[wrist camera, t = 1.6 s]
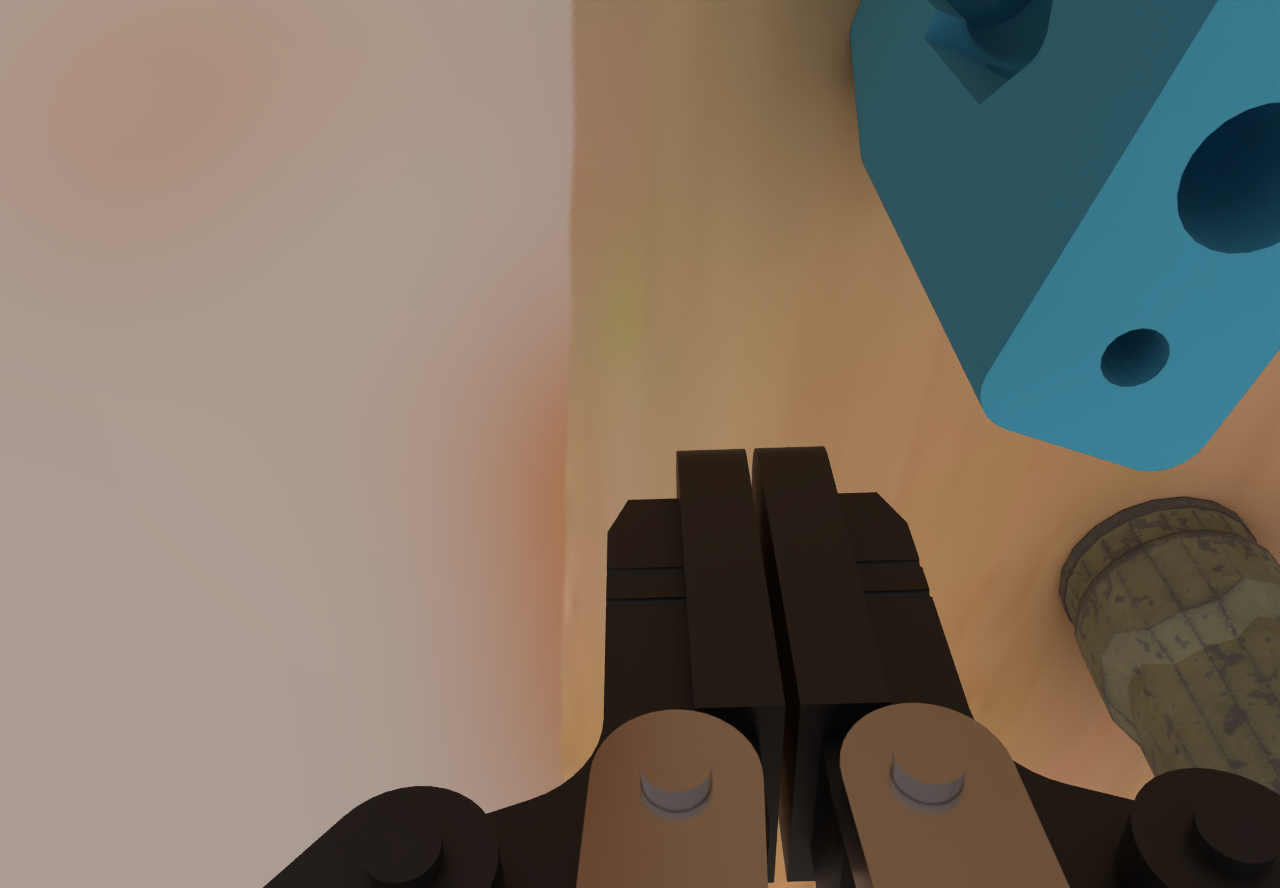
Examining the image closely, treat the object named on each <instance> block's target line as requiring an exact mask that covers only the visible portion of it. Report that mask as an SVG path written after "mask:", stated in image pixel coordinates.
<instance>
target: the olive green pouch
mask: <svg viewBox="0 0 1280 888" xmlns="http://www.w3.org/2000/svg"><path fill="white" fill-rule="evenodd" d="M1059 593H1060V596H1061V599H1062V602H1063V605H1064V608H1065V611H1066V613H1067V616H1068V618H1069V620H1070V621H1071V622H1072V623H1073V624H1074V626H1075V632H1074V633H1075V636H1076V639H1077V642H1078V645H1079V648H1080V651H1081V654H1082V656H1083V658H1084V660H1085V662H1086V665H1087V667H1088V669H1089V671H1090V673H1091V675H1092V677H1093V680H1094V682H1095V684H1096V686H1097V688H1098V690H1099V692H1100V695H1101V697H1102V699H1103V701H1104V703H1105V705H1106V707H1107V709H1108V712H1109V714H1110V716H1111V718H1112V720H1113V721H1114V722H1115V723H1116V724H1117V725H1118V726H1119V727H1120V728H1121V729H1122V730H1123V731H1124V732H1125V733H1126V734H1127V735H1128V736H1129V737H1130V738H1131V739H1132V740H1133V741H1135V742H1136V743H1137V744H1138V745H1139V746H1140V747H1141V749H1142V751H1143V753H1144V756H1145V758H1146V760H1147V762H1148V764H1149V766H1150V768H1151V770H1152V772H1153V774H1154V776H1155V777H1156V776H1159V775H1161V774H1163V773H1165V772H1168V771H1173V770H1177V769H1183V768H1207V769H1215V770H1220V771H1225V772H1230V773H1233V774H1236V775H1239V776H1242V777H1245V778H1248V779H1250V780H1252V781H1255V782H1257V783H1259V784H1261V785H1263V786H1265V787H1267V788H1269V789H1270V790H1272V791H1274V792H1276V793H1277V794H1279V795H1280V565H1279V564H1278V562H1277V561H1276V560H1275V558H1274V557H1273V556H1272V555H1271V553H1270V552H1269V551H1268V550H1267V549H1266V548H1264V547H1262V546H1260V545H1258V544H1257V542H1256V539H1255V537H1254V536H1253V534H1252V533H1251V532H1250V530H1249V529H1248V528H1247V527H1246V525H1245V524H1244V523H1243V522H1242V520H1241V519H1240V518H1239V517H1238V515H1237V514H1236V513H1235V512H1233V511H1231V510H1229V509H1227V508H1225V507H1223V506H1221V505H1219V504H1217V503H1215V502H1214V501H1208V500H1201V499H1195V498H1189V497H1178V498H1169V499H1159V500H1152V501H1149V502H1146V503H1143V504H1140V505H1137V506H1134V507H1131V508H1128V509H1125V510H1122V511H1120V512H1119V513H1117V514H1115V515H1114V516H1112V517H1110V518H1109V519H1107V520H1105V521H1104V522H1102V523H1101V524H1099V525H1097V526H1096V527H1094V528H1093V529H1092V530H1091V531H1090V532H1089V533H1088V534H1087V535H1086V536H1085V537H1084V538H1083V539H1082V540H1081V541H1080V542H1079V543H1078V544H1077V545H1076V546H1075V547H1074V549H1073V550H1072V552H1071V554H1070V556H1069V558H1068V560H1067V562H1066V563H1065V565H1064V567H1063V569H1062V573H1061V581H1060V589H1059Z"/></svg>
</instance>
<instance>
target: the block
mask: <svg viewBox="0 0 1280 888" xmlns="http://www.w3.org/2000/svg"><path fill="white" fill-rule="evenodd" d="M850 44H851V54H852V65H853V76H854V87H855V97H856V108H857V119H858V130H859V140H860V151H861V158H862V162H863V164H864V166H865V168H866V171H867V173H868V175H869V177H870V179H871V181H872V183H873V185H874V187H875V189H876V191H877V193H878V195H879V197H880V199H881V201H882V203H883V205H884V207H885V210H886V212H887V214H888V216H889V218H890V220H891V222H892V224H893V226H894V228H895V230H896V232H897V234H898V236H899V238H900V240H901V242H902V244H903V246H904V248H905V251H906V253H907V255H908V257H909V259H910V261H911V263H912V265H913V267H914V269H915V271H916V273H917V275H918V277H919V279H920V281H921V283H922V285H923V287H924V290H925V292H926V294H927V296H928V298H929V300H930V302H931V304H932V306H933V308H934V310H935V312H936V314H937V316H938V318H939V320H940V322H941V324H942V326H943V328H944V331H945V333H946V335H947V337H948V339H949V341H950V343H951V345H952V347H953V349H954V351H955V353H956V355H957V357H958V359H959V361H960V363H961V365H962V367H963V370H964V372H965V374H966V376H967V378H968V380H969V382H970V384H971V386H972V388H973V390H974V392H975V394H976V396H977V398H978V400H979V402H980V404H981V406H982V408H983V410H984V412H985V414H986V415H987V417H988V418H989V419H990V420H991V421H992V422H993V423H995V424H996V425H998V426H1000V427H1002V428H1004V429H1007V430H1010V431H1013V432H1017V433H1020V434H1023V435H1026V436H1029V437H1033V438H1036V439H1039V440H1042V441H1045V442H1049V443H1052V444H1055V445H1058V446H1062V447H1065V448H1068V449H1071V450H1074V451H1078V452H1081V453H1084V454H1087V455H1090V456H1094V457H1097V458H1100V459H1103V460H1107V461H1110V462H1113V463H1116V464H1119V465H1123V466H1126V467H1129V468H1132V469H1136V470H1142V471H1160V470H1164V469H1169V468H1173V467H1175V466H1177V465H1179V464H1181V463H1184V462H1186V461H1187V460H1188V459H1190V458H1191V457H1193V456H1194V455H1196V454H1197V453H1198V452H1199V451H1200V450H1201V449H1202V448H1203V447H1204V446H1205V444H1206V443H1207V442H1208V441H1209V439H1210V438H1211V437H1212V436H1213V434H1214V433H1215V432H1216V430H1217V429H1218V428H1219V427H1220V425H1221V424H1222V423H1223V421H1224V420H1225V419H1226V418H1227V416H1228V415H1229V414H1230V412H1231V411H1232V410H1233V409H1234V407H1235V406H1236V405H1237V403H1238V402H1239V401H1240V400H1241V398H1242V397H1243V396H1244V394H1245V393H1246V392H1247V391H1248V389H1249V388H1250V387H1251V385H1252V384H1253V383H1254V382H1255V380H1256V379H1257V378H1258V376H1259V375H1260V374H1261V373H1262V371H1263V370H1264V369H1265V367H1266V366H1267V365H1268V364H1269V362H1270V361H1271V360H1272V358H1273V357H1274V356H1275V355H1276V353H1277V352H1278V351H1279V349H1280V0H862V1H861V4H860V6H859V8H858V10H857V13H856V15H855V17H854V19H853V22H852V25H851V29H850Z"/></svg>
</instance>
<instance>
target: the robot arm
mask: <svg viewBox="0 0 1280 888" xmlns="http://www.w3.org/2000/svg"><path fill="white" fill-rule="evenodd" d="M676 481H677V499H644V500H628V501H627V503H626V504H625V506H624V508H623V509H622V511H621V512H620V514H619V515H618V517H617V519H616V520H615V522H614V523H613V525H612V526H611V528H610V529H609V531H608V540H607V588H606V635H605V683H604V721H603V729H602V733H601V736H600V739H599V743H598V745H597V746H596V748H595V750H594V752H593V754H592V756H591V757H590V758H589V760H588V761H587V762H586V763H585V765H584V766H583V767H582V768H581V769H580V770H579V771H578V772H577V773H576V774H575V775H574V776H573V777H571V778H570V779H569V780H567V781H566V782H565V783H563V784H562V785H561V786H559V787H557V788H555V789H553V790H552V791H550V792H548V793H546V794H544V795H541V796H538V797H536V798H533V799H531V800H528V801H525V802H522V803H518V804H515V805H512V806H509V807H506V808H503V809H500V810H497V811H494V812H491V813H487V814H485V813H484V811H483V810H482V809H481V808H480V807H479V806H478V805H477V804H475V803H474V802H473V801H472V800H470V799H469V798H467V797H465V796H463V795H461V794H459V793H457V792H454V791H451V790H448V789H445V788H438V787H432V786H414V787H406V788H400V789H396V790H392V791H388V792H385V793H383V794H380V795H378V796H376V797H373V798H371V799H369V800H367V801H366V802H364V803H362V804H360V805H359V806H357V807H356V808H354V809H353V810H352V811H350V812H349V813H348V814H346V815H345V816H344V817H343V818H342V819H340V820H339V821H338V822H337V823H336V824H335V825H334V826H333V827H331V828H330V829H329V830H328V831H327V832H326V833H325V834H323V835H322V836H321V837H320V838H319V839H318V840H317V841H315V842H314V843H313V844H312V845H311V846H310V847H309V848H307V849H306V850H305V851H304V852H303V853H302V854H301V855H299V856H298V857H297V858H296V859H295V860H294V861H293V862H292V863H291V864H289V865H288V866H287V867H286V868H285V869H284V870H282V871H281V872H280V873H279V874H278V875H277V876H276V877H274V878H273V879H272V880H271V881H270V882H269V883H268V884H267V885H265V886H264V887H263V888H768V883H773V882H774V873H775V858H776V843H777V828H778V817H779V825H780V832H781V840H782V847H783V855H784V862H785V869H786V877H787V882H792V881H815V882H816V888H1280V795H1279V794H1277V793H1276V792H1274V791H1272V790H1270V789H1269V788H1267V787H1265V786H1263V785H1261V784H1259V783H1257V782H1255V781H1252V780H1250V779H1248V778H1245V777H1242V776H1239V775H1236V774H1233V773H1230V772H1225V771H1220V770H1215V769H1207V768H1183V769H1177V770H1173V771H1168V772H1165V773H1163V774H1161V775H1159V776H1156V777H1154V778H1153V779H1152V780H1150V781H1149V782H1148V783H1146V784H1145V785H1144V786H1143V788H1142V789H1141V790H1140V791H1139V792H1138V794H1137V796H1136V798H1135V801H1134V800H1130V799H1126V798H1122V797H1118V796H1114V795H1110V794H1105V793H1101V792H1097V791H1093V790H1089V789H1085V788H1081V787H1076V786H1072V785H1068V784H1065V783H1061V782H1058V781H1055V780H1051V779H1048V778H1046V777H1044V776H1041V775H1039V774H1037V773H1034V772H1032V771H1030V770H1028V769H1027V768H1025V767H1023V766H1021V765H1019V764H1018V763H1016V762H1015V761H1013V760H1012V758H1011V756H1010V755H1009V753H1008V751H1007V749H1006V748H1005V747H1004V746H1003V744H1002V743H1001V742H1000V741H999V739H998V738H997V737H996V736H994V735H993V734H992V733H991V732H990V731H989V730H988V729H987V728H985V727H984V726H982V725H981V724H980V723H978V722H977V721H975V720H974V718H973V716H972V714H971V711H970V709H969V706H968V703H967V700H966V697H965V694H964V691H963V688H962V685H961V682H960V679H959V676H958V673H957V670H956V667H955V664H954V661H953V658H952V655H951V652H950V649H949V646H948V643H947V640H946V637H945V634H944V631H943V628H942V625H941V622H940V619H939V616H938V613H937V610H936V607H935V604H934V601H933V598H932V597H930V595H929V586H928V583H927V580H926V577H925V574H924V571H923V568H922V567H920V565H919V556H918V554H917V551H916V548H915V545H914V542H913V539H912V536H911V533H910V530H909V527H908V524H907V522H906V521H905V520H904V519H903V518H902V517H901V516H900V515H899V514H898V513H897V512H896V511H895V510H894V509H893V508H892V507H891V506H890V505H889V504H888V503H887V502H886V501H885V500H884V499H883V498H882V497H881V496H880V495H879V494H878V493H877V492H871V493H837V489H836V485H835V481H834V478H833V474H832V470H831V466H830V462H829V458H828V455H827V451H826V449H825V447H824V446H818V447H785V448H755V449H754V453H753V463H752V487H751V481H750V474H749V468H748V462H747V456H746V451H745V449H727V450H693V451H677V452H676Z"/></svg>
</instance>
